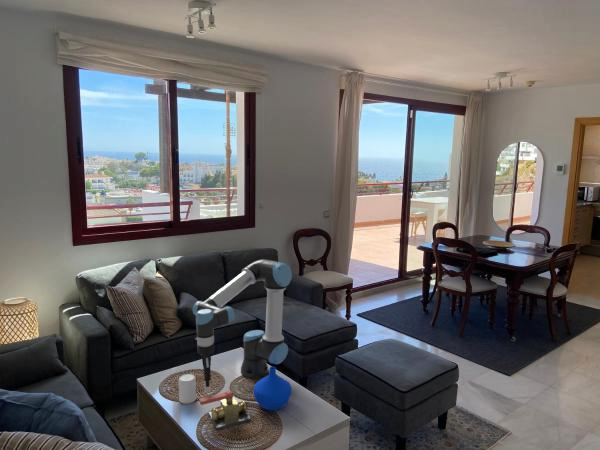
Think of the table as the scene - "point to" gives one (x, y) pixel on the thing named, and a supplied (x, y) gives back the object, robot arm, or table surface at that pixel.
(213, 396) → the lever
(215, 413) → the valve fixture
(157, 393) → the table surface
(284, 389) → the vase
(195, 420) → the table surface
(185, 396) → the white cylindrical piece
